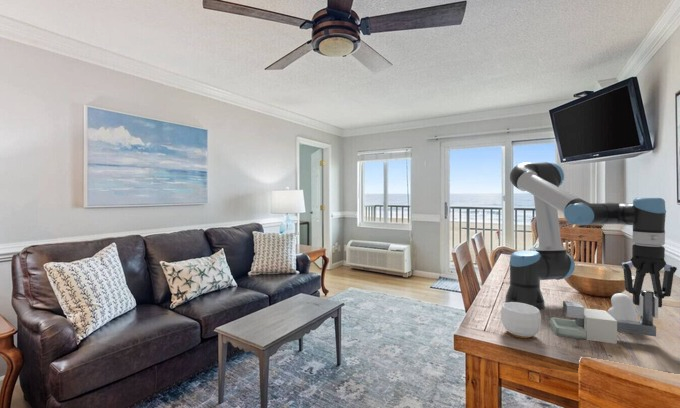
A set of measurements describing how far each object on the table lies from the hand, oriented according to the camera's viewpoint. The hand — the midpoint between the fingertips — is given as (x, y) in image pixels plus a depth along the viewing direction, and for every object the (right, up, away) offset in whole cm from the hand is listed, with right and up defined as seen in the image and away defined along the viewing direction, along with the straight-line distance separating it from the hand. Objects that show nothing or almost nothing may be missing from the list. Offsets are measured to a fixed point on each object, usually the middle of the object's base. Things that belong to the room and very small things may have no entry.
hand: (646, 315), depth 101 cm
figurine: (+4, -9, +13) cm, 16 cm away
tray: (-20, -9, +9) cm, 24 cm away
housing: (-12, -9, +6) cm, 16 cm away
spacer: (-18, -3, +8) cm, 20 cm away
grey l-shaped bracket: (-8, -6, +4) cm, 10 cm away
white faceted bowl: (-38, -9, +7) cm, 40 cm away
